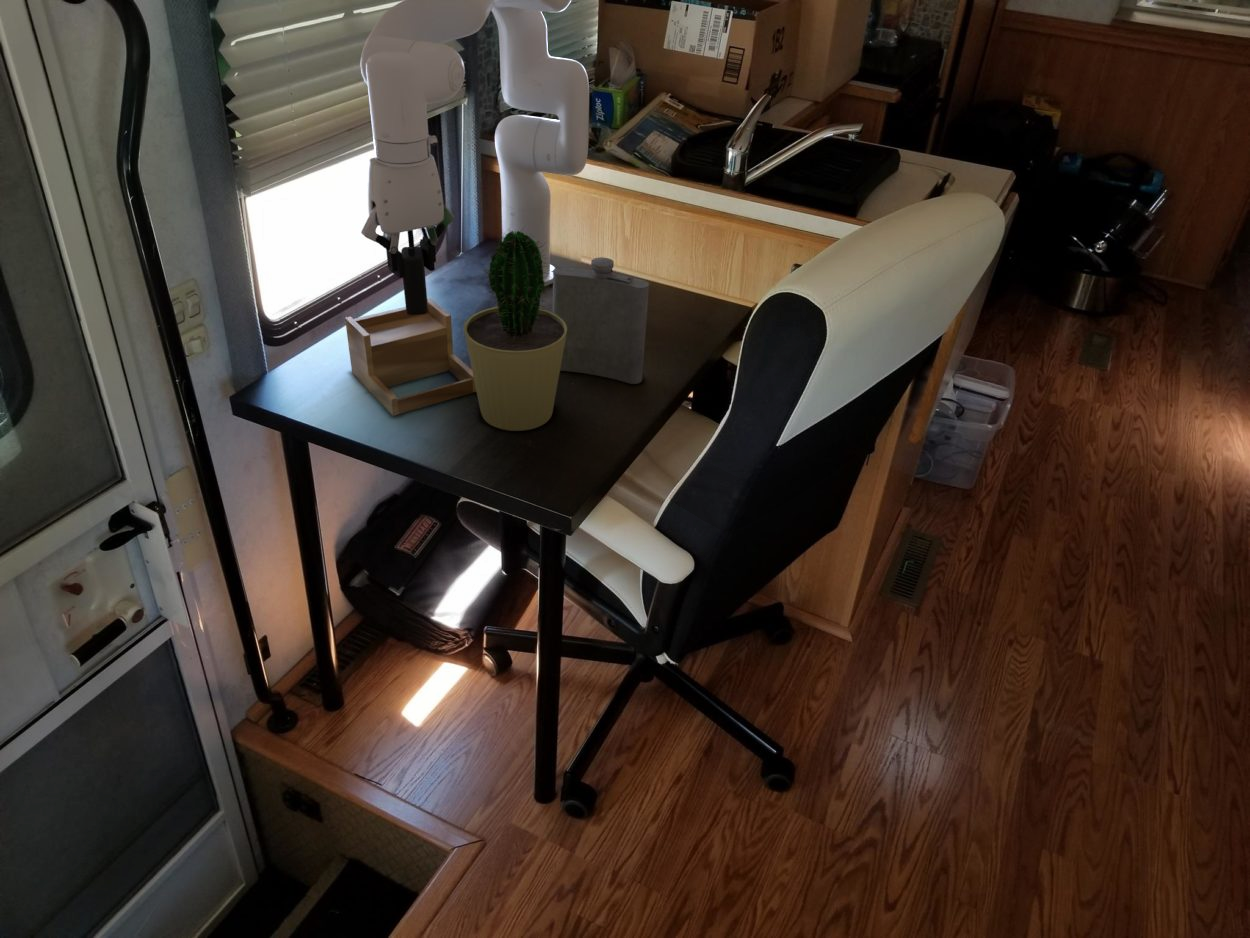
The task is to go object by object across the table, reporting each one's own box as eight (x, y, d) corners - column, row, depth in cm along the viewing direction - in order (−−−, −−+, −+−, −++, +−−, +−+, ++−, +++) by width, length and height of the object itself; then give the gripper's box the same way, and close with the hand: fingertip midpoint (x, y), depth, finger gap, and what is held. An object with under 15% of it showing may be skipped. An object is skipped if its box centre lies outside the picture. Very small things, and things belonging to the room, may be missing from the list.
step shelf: (351, 372, 155) (344, 317, 149) (434, 351, 162) (430, 298, 157) (392, 416, 144) (387, 359, 139) (478, 391, 152) (476, 336, 146)
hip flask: (549, 368, 159) (550, 258, 148) (557, 358, 163) (558, 249, 151) (639, 385, 156) (647, 273, 145) (645, 374, 160) (653, 264, 148)
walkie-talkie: (427, 315, 142) (418, 220, 134) (404, 315, 142) (394, 221, 133) (427, 301, 146) (419, 208, 137) (405, 301, 146) (396, 208, 137)
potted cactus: (470, 386, 153) (462, 208, 136) (564, 387, 154) (568, 211, 137) (463, 438, 140) (454, 248, 123) (566, 438, 142) (570, 251, 125)
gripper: (443, 133, 136) (451, 251, 147) (333, 150, 128) (349, 273, 139) (468, 148, 132) (474, 268, 142) (355, 165, 123) (370, 292, 134)
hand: (412, 270), depth 140 cm, fingers closed on walkie-talkie, 4 cm apart
